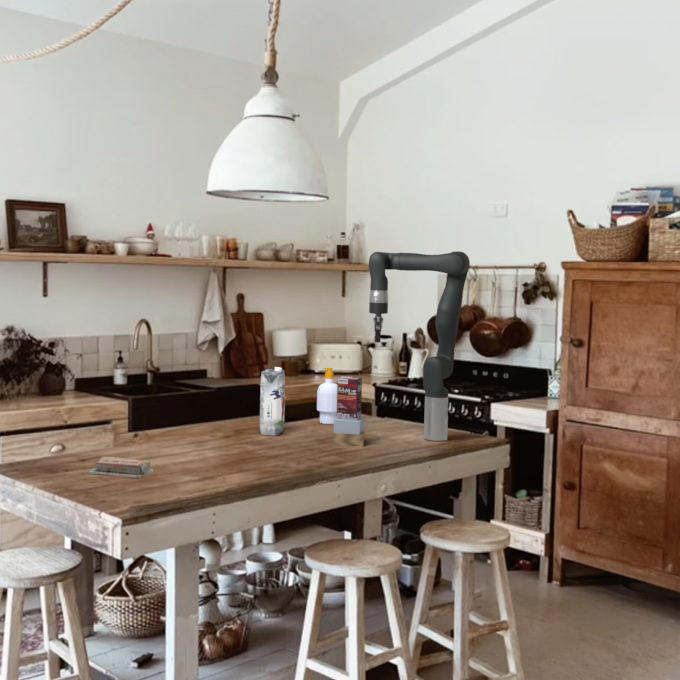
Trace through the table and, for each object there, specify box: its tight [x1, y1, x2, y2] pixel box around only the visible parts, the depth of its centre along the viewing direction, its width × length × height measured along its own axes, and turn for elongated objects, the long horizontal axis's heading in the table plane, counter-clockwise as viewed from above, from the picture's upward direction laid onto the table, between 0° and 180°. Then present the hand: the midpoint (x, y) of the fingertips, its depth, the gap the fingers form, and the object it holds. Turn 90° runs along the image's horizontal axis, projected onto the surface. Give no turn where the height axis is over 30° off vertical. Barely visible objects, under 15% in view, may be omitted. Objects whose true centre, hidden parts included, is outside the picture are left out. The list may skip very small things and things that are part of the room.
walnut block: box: [333, 430, 365, 447], centre depth 338 cm, size 11×11×5 cm
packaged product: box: [87, 456, 154, 479], centre depth 279 cm, size 18×5×10 cm
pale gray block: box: [333, 416, 366, 435], centre depth 337 cm, size 10×10×5 cm
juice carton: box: [259, 366, 286, 436], centre depth 353 cm, size 9×10×27 cm
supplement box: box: [336, 376, 363, 420], centre depth 336 cm, size 9×5×16 cm, turn 67°
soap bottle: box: [316, 367, 338, 425], centre depth 381 cm, size 10×10×24 cm
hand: (377, 341), depth 356 cm, fingers open, 8 cm apart
